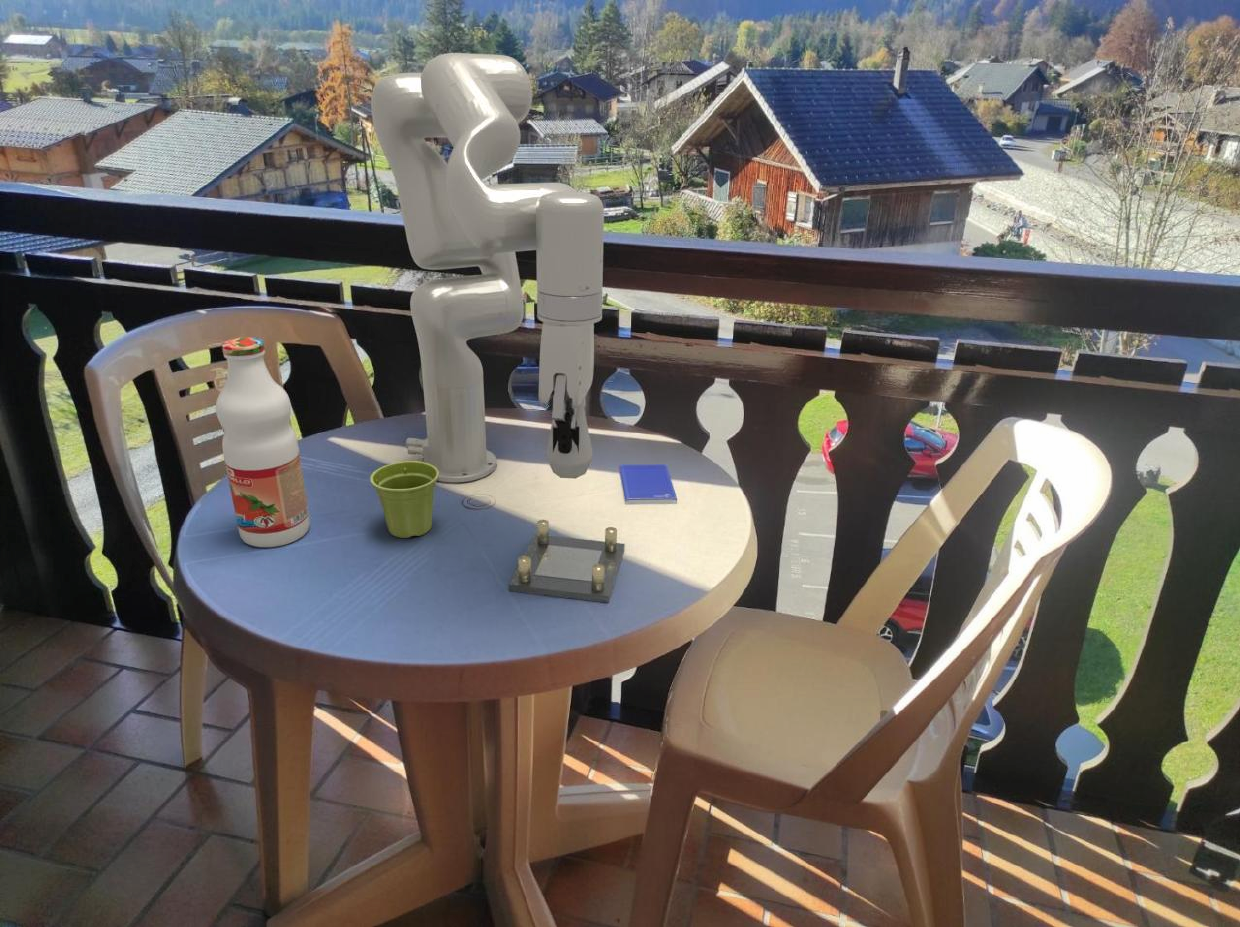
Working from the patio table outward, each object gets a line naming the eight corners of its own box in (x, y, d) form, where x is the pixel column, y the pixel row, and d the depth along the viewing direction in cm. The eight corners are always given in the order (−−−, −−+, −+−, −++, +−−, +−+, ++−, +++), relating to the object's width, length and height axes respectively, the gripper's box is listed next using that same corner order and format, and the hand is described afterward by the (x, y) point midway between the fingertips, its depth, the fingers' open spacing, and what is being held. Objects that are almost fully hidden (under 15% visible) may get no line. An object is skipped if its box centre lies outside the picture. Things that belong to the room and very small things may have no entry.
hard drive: (677, 497, 126) (667, 464, 137) (625, 498, 125) (619, 464, 137) (677, 506, 127) (666, 472, 138) (625, 507, 126) (618, 472, 137)
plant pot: (362, 537, 115) (356, 482, 111) (400, 508, 123) (395, 456, 119) (419, 550, 112) (414, 495, 108) (454, 519, 120) (451, 467, 116)
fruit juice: (321, 534, 115) (293, 344, 103) (254, 556, 109) (215, 358, 97) (295, 509, 121) (265, 328, 109) (230, 529, 116) (191, 340, 104)
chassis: (508, 590, 104) (507, 564, 102) (534, 540, 115) (534, 515, 114) (608, 602, 102) (609, 576, 100) (624, 549, 114) (625, 525, 112)
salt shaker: (540, 465, 104) (539, 369, 98) (582, 459, 106) (583, 364, 100) (555, 484, 99) (555, 384, 93) (599, 477, 101) (601, 379, 96)
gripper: (554, 287, 101) (555, 423, 109) (518, 321, 86) (522, 475, 94) (613, 291, 100) (610, 428, 108) (587, 326, 85) (585, 481, 93)
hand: (569, 448), depth 101 cm, fingers closed on salt shaker, 3 cm apart
